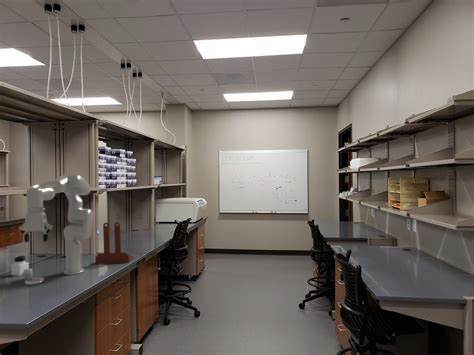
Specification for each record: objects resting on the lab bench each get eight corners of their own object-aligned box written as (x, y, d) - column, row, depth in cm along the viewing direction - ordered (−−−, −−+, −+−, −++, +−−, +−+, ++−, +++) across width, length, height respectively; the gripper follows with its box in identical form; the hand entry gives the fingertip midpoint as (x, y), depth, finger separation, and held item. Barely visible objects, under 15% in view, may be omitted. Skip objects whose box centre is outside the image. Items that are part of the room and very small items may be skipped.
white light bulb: (26, 278, 214) (26, 268, 214) (34, 277, 214) (33, 268, 214) (20, 281, 207) (20, 271, 207) (28, 280, 208) (28, 271, 208)
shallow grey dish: (30, 280, 209) (30, 277, 209) (47, 279, 209) (47, 276, 209) (21, 285, 199) (21, 282, 199) (38, 284, 199) (38, 281, 199)
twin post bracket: (133, 258, 260) (132, 219, 260) (129, 262, 247) (127, 222, 246) (101, 259, 258) (100, 220, 258) (95, 263, 245) (94, 223, 245)
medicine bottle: (29, 272, 226) (28, 254, 226) (20, 275, 219) (19, 257, 219) (20, 272, 228) (19, 254, 228) (11, 275, 221) (10, 257, 221)
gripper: (54, 209, 188) (55, 239, 188) (22, 210, 186) (23, 240, 187) (48, 210, 180) (49, 242, 181) (14, 211, 179) (15, 243, 179)
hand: (36, 241), depth 184 cm, fingers open, 9 cm apart
